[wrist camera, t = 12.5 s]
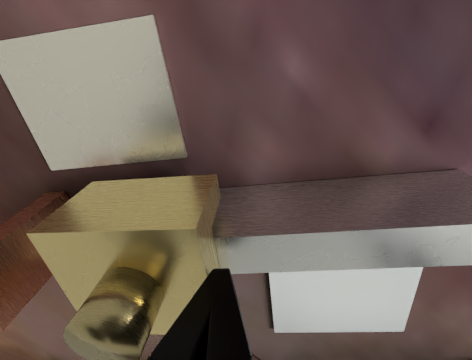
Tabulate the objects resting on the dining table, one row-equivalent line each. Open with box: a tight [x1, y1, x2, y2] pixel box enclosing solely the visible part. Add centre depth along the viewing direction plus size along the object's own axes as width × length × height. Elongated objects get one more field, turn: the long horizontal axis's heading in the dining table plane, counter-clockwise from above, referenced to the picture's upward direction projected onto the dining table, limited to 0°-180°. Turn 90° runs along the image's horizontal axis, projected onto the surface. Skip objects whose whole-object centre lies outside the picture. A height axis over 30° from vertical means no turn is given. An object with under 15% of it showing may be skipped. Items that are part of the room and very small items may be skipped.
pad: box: [269, 267, 423, 333], centre depth 16 cm, size 9×9×1 cm
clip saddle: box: [26, 174, 221, 360], centre depth 10 cm, size 6×6×6 cm
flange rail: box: [0, 15, 472, 332], centre depth 9 cm, size 11×22×6 cm, turn 97°
